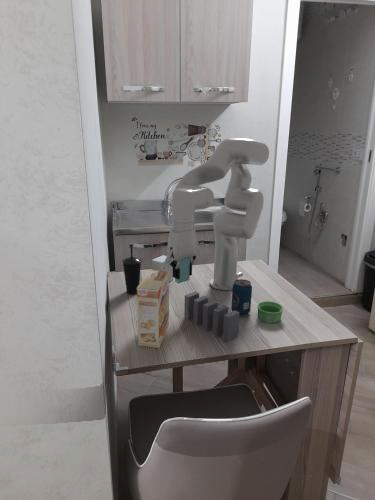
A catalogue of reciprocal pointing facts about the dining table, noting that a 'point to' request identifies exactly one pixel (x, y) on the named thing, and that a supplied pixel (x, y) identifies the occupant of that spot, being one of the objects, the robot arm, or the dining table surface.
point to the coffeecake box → (153, 308)
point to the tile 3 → (199, 310)
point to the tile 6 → (230, 326)
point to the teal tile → (184, 270)
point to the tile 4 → (209, 314)
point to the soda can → (241, 297)
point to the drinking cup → (132, 273)
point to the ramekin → (269, 311)
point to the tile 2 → (190, 305)
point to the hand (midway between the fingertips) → (182, 275)
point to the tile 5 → (219, 320)
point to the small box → (162, 266)
